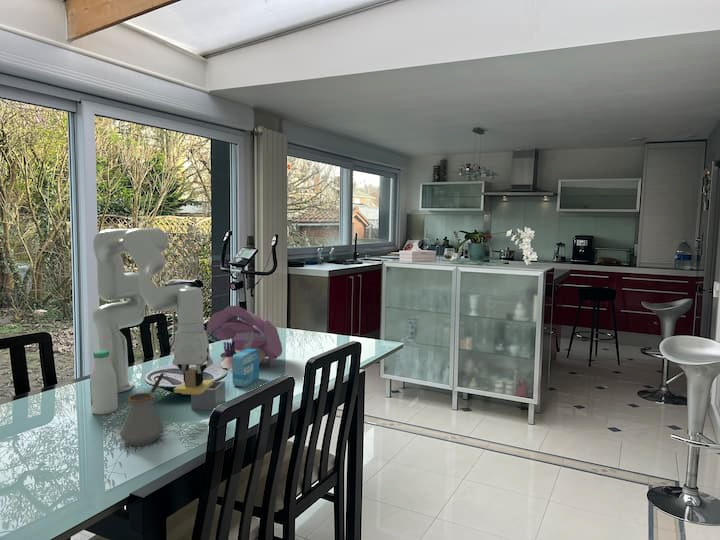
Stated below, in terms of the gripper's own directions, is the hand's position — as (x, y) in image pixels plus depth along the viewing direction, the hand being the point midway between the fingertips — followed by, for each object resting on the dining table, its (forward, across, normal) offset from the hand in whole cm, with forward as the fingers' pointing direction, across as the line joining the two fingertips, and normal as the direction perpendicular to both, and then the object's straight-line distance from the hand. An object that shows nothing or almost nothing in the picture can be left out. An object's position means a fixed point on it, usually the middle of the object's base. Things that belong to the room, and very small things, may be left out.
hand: (193, 384), depth 161 cm
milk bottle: (+11, -32, +3) cm, 34 cm away
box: (+11, 0, +11) cm, 16 cm away
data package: (+11, +5, +35) cm, 37 cm away
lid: (+1, 0, 0) cm, 1 cm away
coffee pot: (+12, -9, -11) cm, 18 cm away
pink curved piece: (+11, -4, +57) cm, 58 cm away
